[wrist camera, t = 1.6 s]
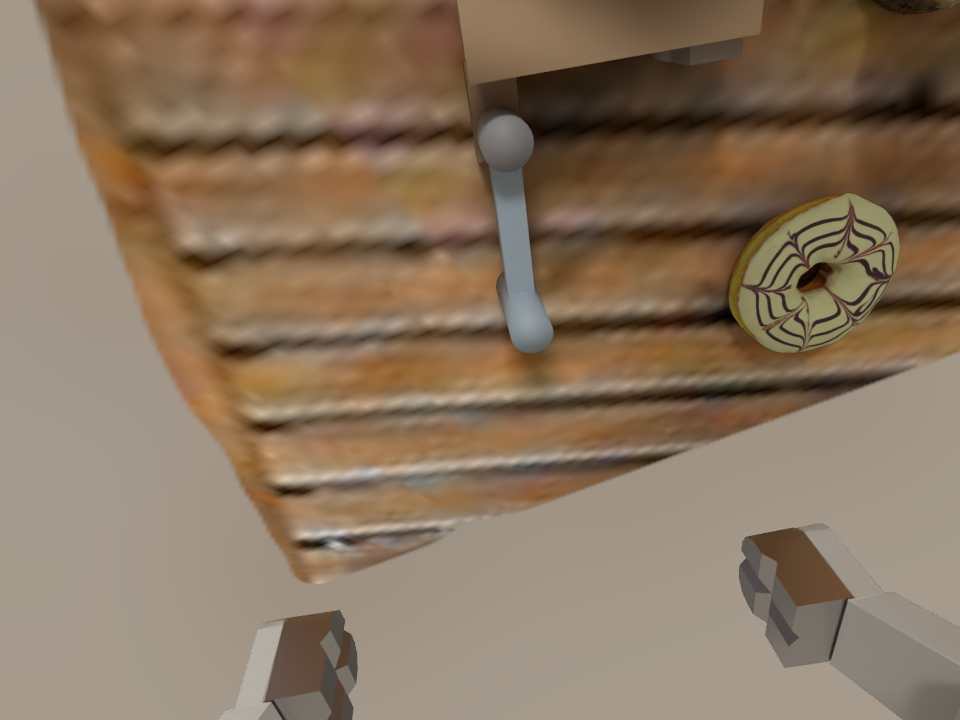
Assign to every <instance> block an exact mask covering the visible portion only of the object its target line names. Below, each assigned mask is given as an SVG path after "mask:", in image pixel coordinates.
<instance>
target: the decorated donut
mask: <svg viewBox="0 0 960 720" xmlns="http://www.w3.org/2000/svg"><path fill="white" fill-rule="evenodd" d="M899 250H900V244H899V237H898V230H897V228H896V225H895V223H894V221H893V219H892V217H891V216H890V215H889V214H888V213H887V211H886V210H885V209H884V208H882V207H880V206H878V205H875V204H873V203H871V202H870V201H868V200H865V199H863V198H861V197H859V196H857V195H855V194H850V193H846V194H844V195H829V196H826V197H823V198H820V199H816V200H813V201H810V202H807V203H804V204H800V205H798V206H796V207H793V208H792V209H790V210H788V211H786V212H784V213H782V214H780V215H778V216H777V217H775V218H773V219H771V220H770V221H768V222H767V223H766V224H764V225H763V227H761V228H760V229H759V230H758V231H757V232H756V233H754V235H753V236H752V237H751V239H750V240H749V242H748V243H747V244H746V245H745V246H744V248H743V250H742V251H741V253H740V254H739V257H738V259H737V261H736V264H735V267H734V269H733V272H732V276H731V279H730V284H729V305H730V309H731V312H732V314H733V316H734V317H735V319H736V320H737V321H738V323H739V325H740V326H741V327H742V328H743V329H745V332H746V333H747V334H748V335H750V336H752V337H753V338H755V339H756V340H757V341H758V342H759V343H760V344H761V345H763V346H764V347H766V348H769V349H770V350H773V351H776V352H780V353H785V352H791V353H798V352H804V351H808V350H812V349H815V348H818V347H822V346H825V345H829V344H833V343H835V342H837V341H838V340H840V339H841V338H842V337H843V336H845V335H846V334H847V333H848V332H849V331H850V330H852V329H853V328H855V327H856V326H858V325H859V324H860V323H861V322H862V321H863V320H864V319H865V318H866V316H867V315H868V314H869V313H870V312H871V310H872V308H873V307H874V306H875V305H876V303H877V302H878V301H879V300H880V298H881V297H882V295H883V294H884V292H885V290H886V289H887V287H888V285H889V283H890V281H891V279H892V277H893V275H894V272H895V269H896V266H897V260H898V256H899ZM820 262H821V266H820V269H819V271H818V273H817V275H816V277H815V278H814V279H813V280H812V281H811V282H810V283H809V284H808V285H806V286H804V287H802V288H796V287H797V283H798V280H799V278H800V276H801V275H802V274H804V273H805V272H807V271H808V270H809V269H810V268H811V267H812V266H813V265H815V264H817V263H820Z"/></svg>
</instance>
